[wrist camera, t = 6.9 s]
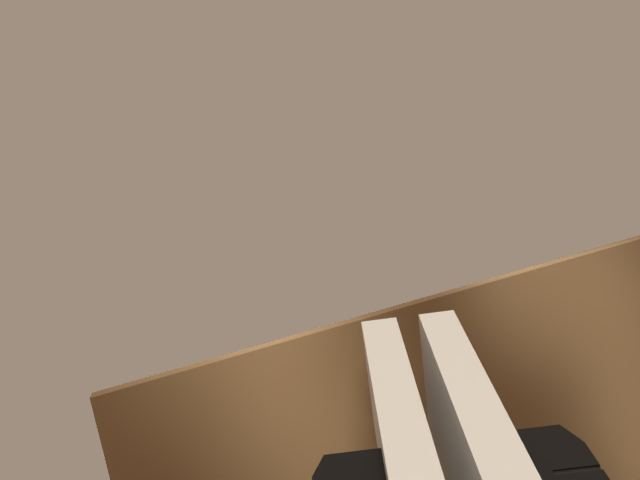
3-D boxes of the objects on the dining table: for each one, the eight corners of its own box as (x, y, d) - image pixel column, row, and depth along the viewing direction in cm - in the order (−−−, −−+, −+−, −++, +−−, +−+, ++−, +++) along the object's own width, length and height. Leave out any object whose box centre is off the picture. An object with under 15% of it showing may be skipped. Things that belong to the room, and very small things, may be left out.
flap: (785, 490, 17) (768, 485, 18) (726, 213, 17) (710, 215, 17) (184, 771, 13) (182, 752, 13) (89, 397, 12) (91, 393, 13)
